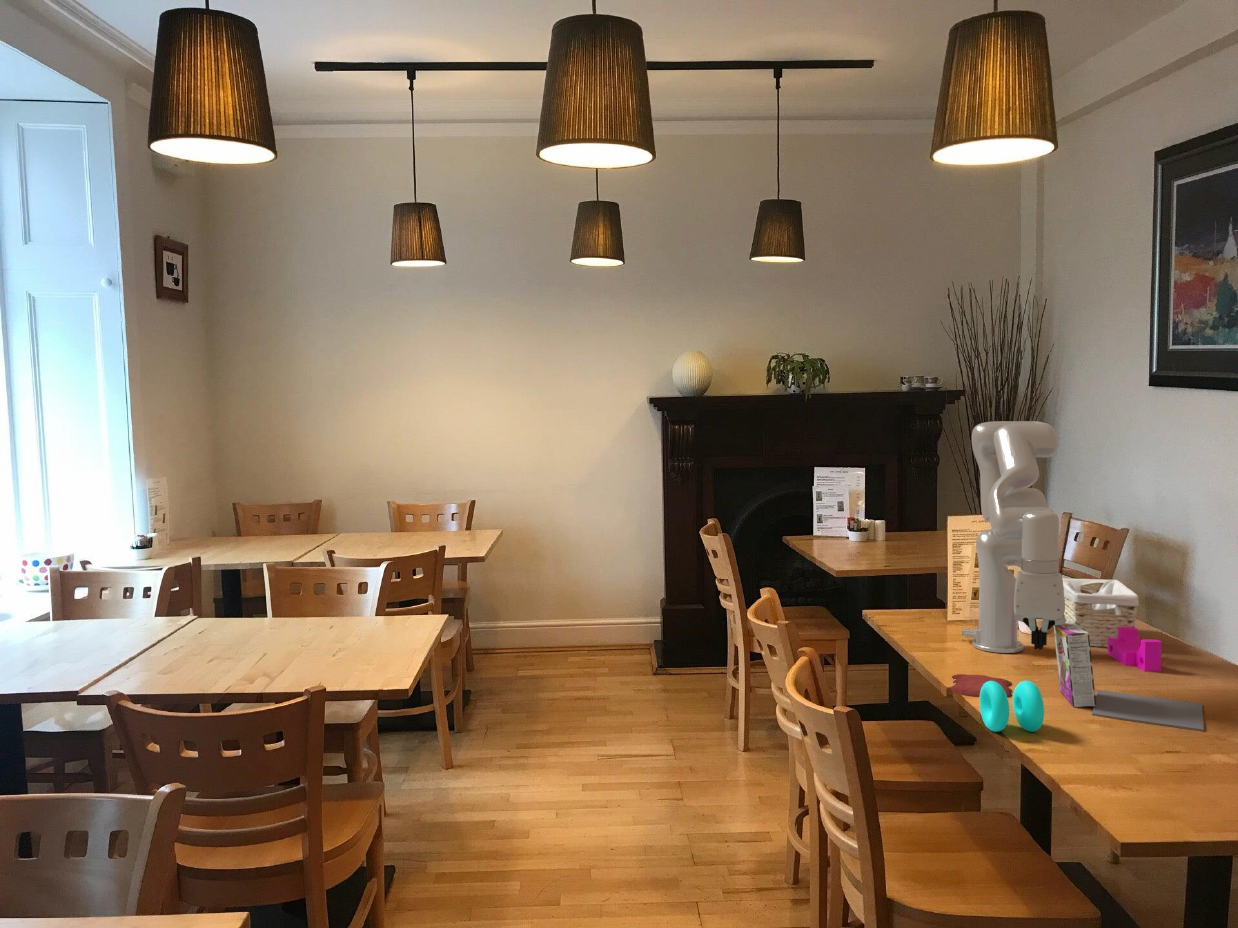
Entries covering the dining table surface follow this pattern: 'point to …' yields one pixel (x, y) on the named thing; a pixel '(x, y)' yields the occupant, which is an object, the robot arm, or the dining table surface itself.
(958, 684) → the patty
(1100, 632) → the storage basket
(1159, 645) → the toy block
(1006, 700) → the donuts
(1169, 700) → the mat
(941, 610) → the dining table surface
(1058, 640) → the candy bar box
